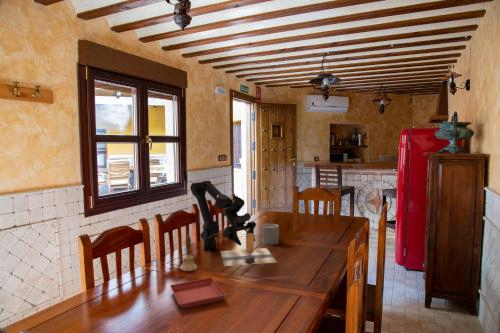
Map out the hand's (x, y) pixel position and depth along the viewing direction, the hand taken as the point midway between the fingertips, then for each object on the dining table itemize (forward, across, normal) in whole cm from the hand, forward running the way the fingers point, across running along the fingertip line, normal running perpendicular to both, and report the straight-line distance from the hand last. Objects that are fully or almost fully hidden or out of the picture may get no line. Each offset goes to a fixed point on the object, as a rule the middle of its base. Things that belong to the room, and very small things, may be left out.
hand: (247, 243), depth 173 cm
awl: (+7, 0, +5) cm, 9 cm away
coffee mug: (-5, +35, +19) cm, 41 cm away
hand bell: (-3, -25, +18) cm, 31 cm away
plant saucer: (+17, -40, -2) cm, 43 cm away
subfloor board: (+3, +4, +11) cm, 12 cm away
